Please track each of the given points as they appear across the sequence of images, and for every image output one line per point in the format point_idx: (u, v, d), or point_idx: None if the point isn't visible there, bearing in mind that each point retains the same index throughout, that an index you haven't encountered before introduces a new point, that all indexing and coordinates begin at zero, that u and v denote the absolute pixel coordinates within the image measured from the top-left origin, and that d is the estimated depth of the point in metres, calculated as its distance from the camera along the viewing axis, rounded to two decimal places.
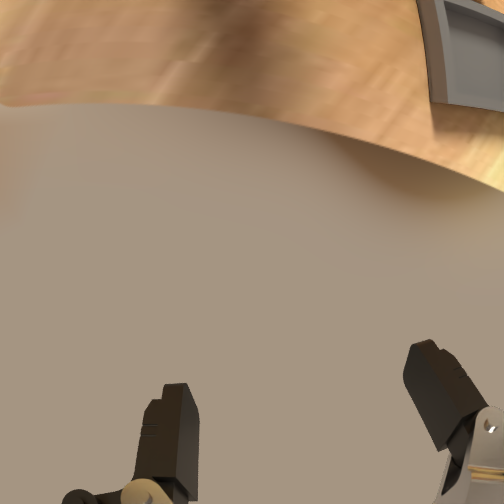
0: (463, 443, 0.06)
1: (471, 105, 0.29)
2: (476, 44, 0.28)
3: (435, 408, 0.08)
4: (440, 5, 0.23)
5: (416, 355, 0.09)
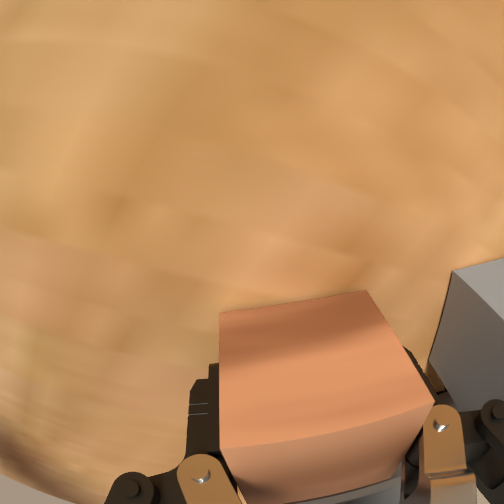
0: None
1: None
2: None
3: None
4: None
5: None
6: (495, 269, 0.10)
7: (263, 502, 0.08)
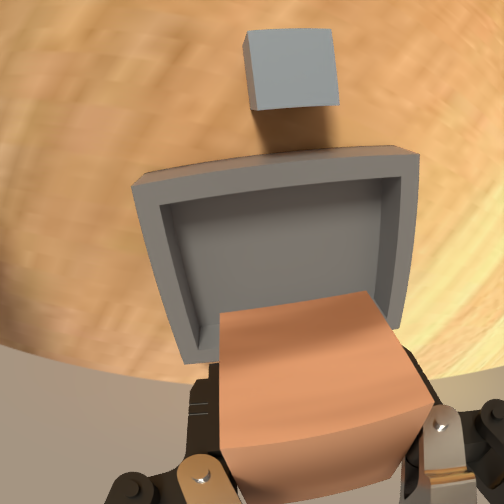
0: None
1: None
2: (280, 231, 0.25)
3: None
4: (152, 221, 0.20)
5: None
6: None
7: (263, 502, 0.08)
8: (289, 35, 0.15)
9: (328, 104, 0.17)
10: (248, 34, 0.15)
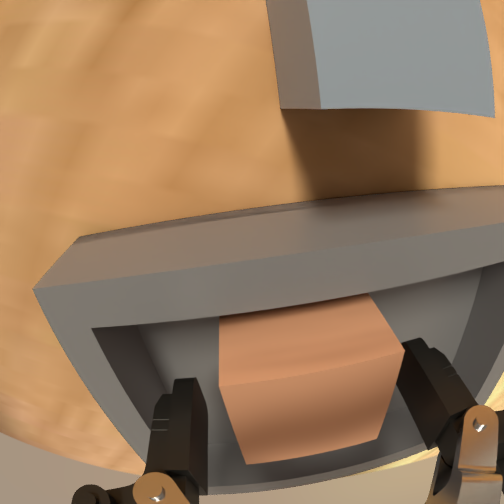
0: (452, 441, 0.06)
1: (242, 492, 0.15)
2: None
3: (424, 406, 0.08)
4: (85, 352, 0.09)
5: (406, 353, 0.10)
6: None
7: (259, 457, 0.09)
8: None
9: (477, 112, 0.06)
10: None
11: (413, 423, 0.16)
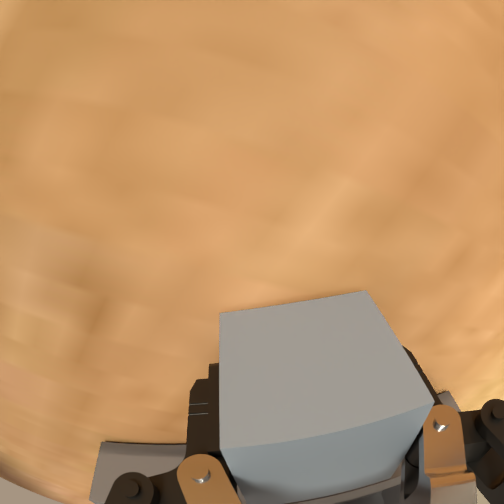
0: None
1: None
2: None
3: None
4: None
5: None
6: (286, 315, 0.10)
7: None
8: (329, 442, 0.06)
9: (372, 483, 0.08)
10: None
11: None
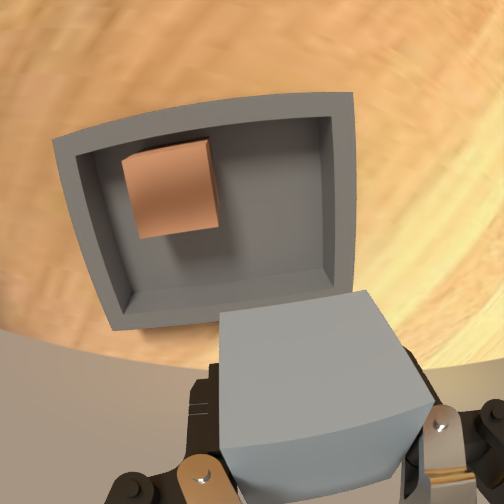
0: None
1: (159, 325, 0.24)
2: None
3: None
4: (69, 172, 0.18)
5: None
6: (285, 315, 0.10)
7: (146, 230, 0.19)
8: (329, 442, 0.06)
9: (372, 483, 0.08)
10: None
11: (295, 281, 0.25)
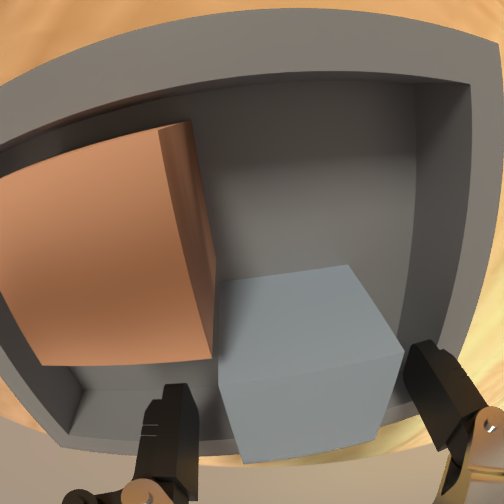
0: (463, 443, 0.06)
1: (125, 453, 0.12)
2: None
3: (435, 408, 0.08)
4: None
5: (416, 355, 0.09)
6: (277, 283, 0.11)
7: (47, 352, 0.07)
8: (312, 383, 0.08)
9: (357, 443, 0.10)
10: None
11: None
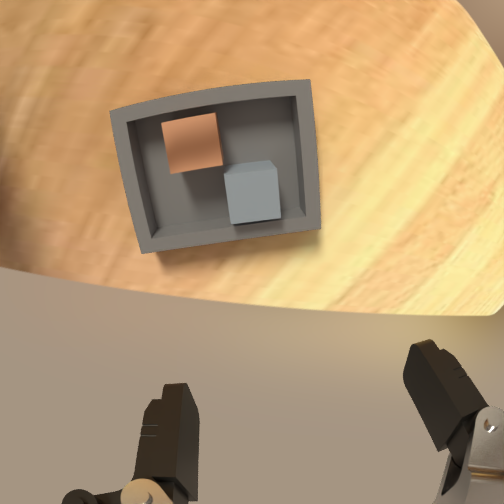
0: (463, 443, 0.06)
1: (177, 247, 0.34)
2: None
3: (435, 408, 0.08)
4: (121, 133, 0.28)
5: (416, 355, 0.09)
6: (243, 164, 0.33)
7: (175, 168, 0.28)
8: (249, 176, 0.29)
9: (273, 218, 0.31)
10: (224, 177, 0.29)
11: None
